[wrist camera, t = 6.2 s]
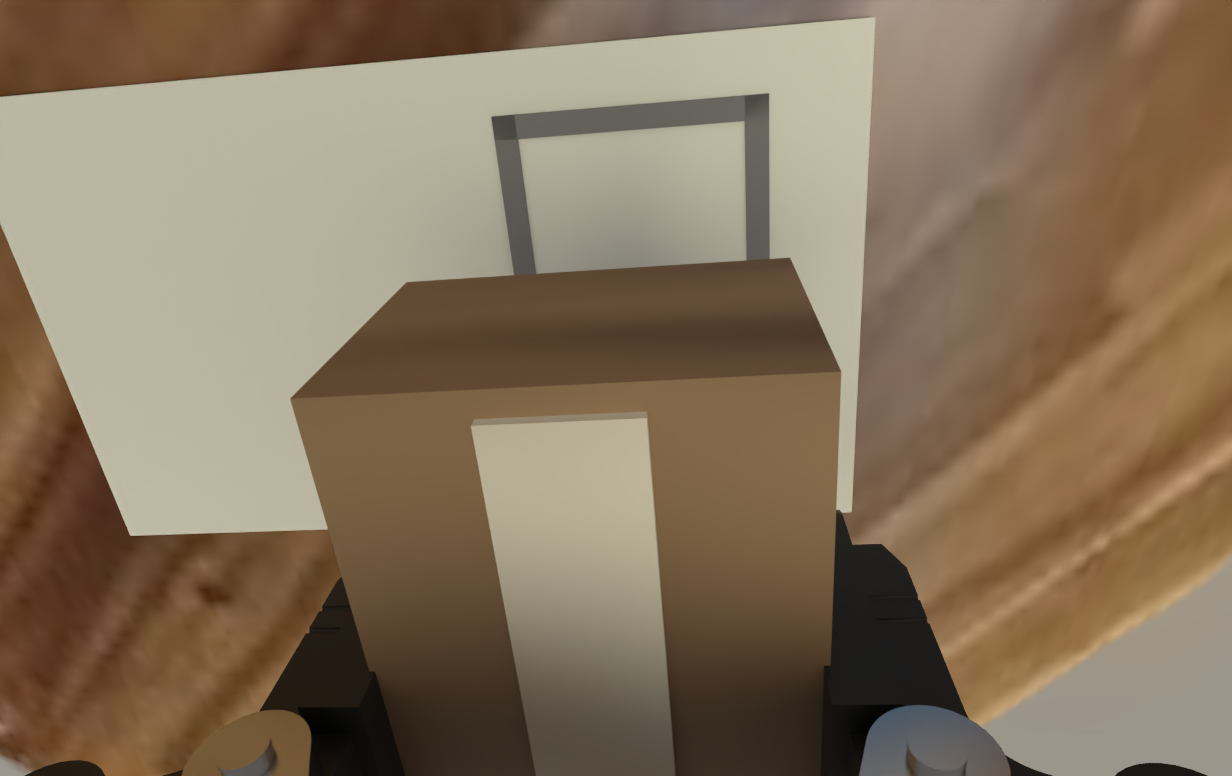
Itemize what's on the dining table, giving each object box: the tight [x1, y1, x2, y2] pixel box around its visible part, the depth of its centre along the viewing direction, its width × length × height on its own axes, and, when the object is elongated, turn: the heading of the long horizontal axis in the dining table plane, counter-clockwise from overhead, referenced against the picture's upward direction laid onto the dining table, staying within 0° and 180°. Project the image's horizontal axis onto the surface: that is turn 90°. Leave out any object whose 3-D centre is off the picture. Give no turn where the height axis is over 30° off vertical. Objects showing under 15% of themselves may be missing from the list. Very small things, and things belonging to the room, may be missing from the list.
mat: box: [0, 17, 875, 536], centre depth 23 cm, size 24×14×1 cm, turn 95°
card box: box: [290, 258, 841, 776], centre depth 11 cm, size 9×5×4 cm, turn 5°
